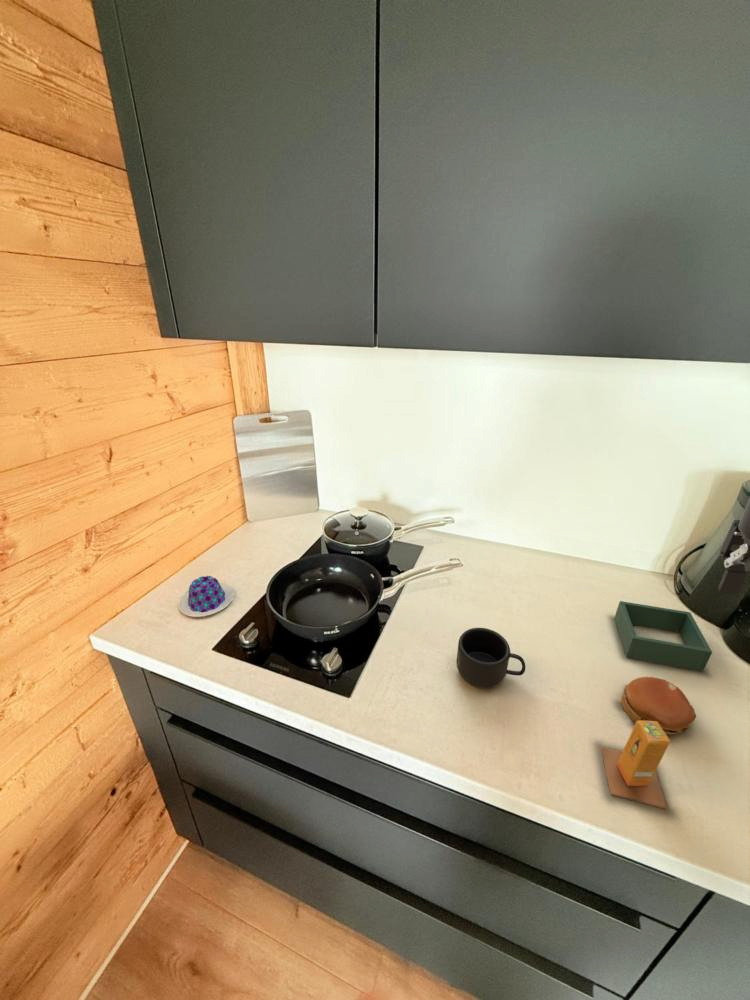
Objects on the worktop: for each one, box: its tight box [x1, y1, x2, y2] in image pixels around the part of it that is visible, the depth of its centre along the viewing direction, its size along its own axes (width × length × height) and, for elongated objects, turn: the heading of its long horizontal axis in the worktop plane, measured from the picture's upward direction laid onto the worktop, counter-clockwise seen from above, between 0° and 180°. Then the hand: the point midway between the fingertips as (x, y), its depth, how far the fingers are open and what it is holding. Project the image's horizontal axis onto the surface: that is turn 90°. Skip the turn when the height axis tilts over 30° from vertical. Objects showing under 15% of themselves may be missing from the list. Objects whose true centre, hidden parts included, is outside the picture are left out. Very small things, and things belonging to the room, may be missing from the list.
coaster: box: [600, 746, 668, 810], centre depth 62 cm, size 7×7×1 cm
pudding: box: [178, 575, 235, 618], centre depth 96 cm, size 12×12×5 cm
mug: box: [455, 627, 526, 689], centre depth 77 cm, size 12×9×7 cm
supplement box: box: [617, 721, 671, 786], centre depth 59 cm, size 3×3×10 cm
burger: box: [620, 676, 697, 735], centre depth 70 cm, size 10×9×5 cm
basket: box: [613, 600, 713, 673], centre depth 84 cm, size 13×11×5 cm
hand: (741, 613), depth 55 cm, fingers open, 8 cm apart
